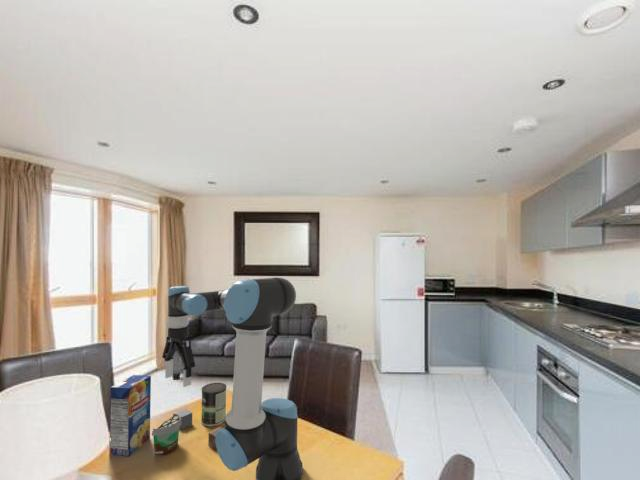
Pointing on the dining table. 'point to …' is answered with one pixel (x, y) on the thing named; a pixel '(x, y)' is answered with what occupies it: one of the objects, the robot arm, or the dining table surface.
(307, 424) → the dining table surface
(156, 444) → the patterned half-round container
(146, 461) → the dining table surface
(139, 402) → the juice carton
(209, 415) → the coffee can
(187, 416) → the gray block
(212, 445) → the walnut block
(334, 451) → the dining table surface
